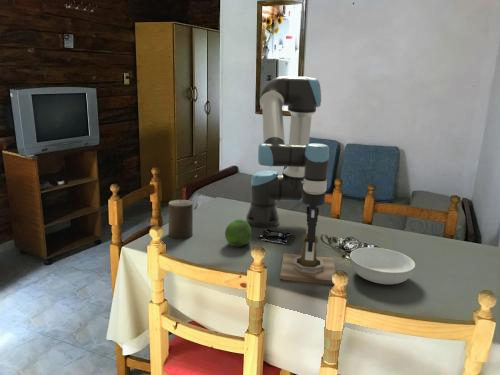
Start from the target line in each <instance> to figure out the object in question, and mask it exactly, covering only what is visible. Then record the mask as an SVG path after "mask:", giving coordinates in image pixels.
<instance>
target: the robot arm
mask: <svg viewBox="0 0 500 375" xmlns="http://www.w3.org/2000/svg"><path fill="white" fill-rule="evenodd" d="M321 88H322V87H321V83H320V81H319V79H317V78H316V77H308V76H283V75H282V76H281V75H280V76H276V77H275V78H273V79H271V80H269V81H268V82H267V83H266V84H265V85H264V87H263V88H262V90H261V92H260V94H259V105H260V107H261V108H262V134H263V135H262V136H263V137H262V138H263V143H259V144H258V149H257V150H258V151H257V152H258V153H257V161H258V162H257V163H258V164H259V165H260V166H266V167H286V168H285V169H283V171H282V174H279V172H278V171H277V170H271V169H270V170H269V169H268V170H260V171H257V172H255V173H253V174H252V176H251V182H250V186H251V187H250V205H249V207H248V210H247V213H246V216H245V221H246V222H247V223H248V224H249V225H250V226H252V227H257V228H272V227H276V226H278V225H279V224H280V214H279V212H278V208H277V201H281V202H302V203H303V204H305V205H308V206H306V222H307V223H306V231H305V235H306V234H307V239H305V242H306V252H305V260H312V261H313V258H314V247H315V235H316V230H317V225H318V224H317V223H318V216H319V213H320V210H319V209H320V208H319V207H318V206H323V205H325V203H326V192H327V184H328V182H327V181H328V171H329V170H328V169H329V160H330V147H329V145H327V144H324V143H310V137H311V136H310V135H311V126H312V116H313V115H314V114H315V113H316V111H317V108H320V107H321V103H322V90H321ZM285 106H286V107H287V111H288V112H289V113H290V124H289V136H288V137H289V138H288V144H286V142H285V128H284V116H283V107H285ZM312 238H313V239H312Z"/></svg>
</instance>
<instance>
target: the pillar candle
mask: <svg viewBox="0 0 500 375" xmlns="http://www.w3.org/2000/svg"><path fill="white" fill-rule="evenodd" d="M193 206H194V203H193V202H192V201H191V200H188V199H174V200H170V201H169V202H168V236H169V237H170V238H172V239H176V240H177V239H179V240H182V239H188V238H191V237H192V236H193V232H194V231H193V227H194V226H193V225H194V224H193V220H194V219H193V218H194V217H193V216H194V215H193V214H194V213H193V212H194V211H193V210H194V207H193Z"/></svg>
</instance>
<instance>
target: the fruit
mask: <svg viewBox="0 0 500 375" xmlns="http://www.w3.org/2000/svg"><path fill="white" fill-rule="evenodd" d="M252 232H253V231H252V228H251V225H249V224H248V223H247V222H246V220H243V219H234V220H233V221H231V222H230V223H229V224H228V225H227V226H226V228H225V231H224V234H225V235H224V236H225V241H227V243H228V245H230V246H232V247H237V248H239V247H240V248H241V247H244V246H246V245H247V243H249V241H250V240H251V239H252V235H253V234H252Z"/></svg>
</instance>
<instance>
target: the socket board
mask: <svg viewBox="0 0 500 375" xmlns="http://www.w3.org/2000/svg"><path fill="white" fill-rule="evenodd" d="M316 257H317V266H316V267H305V266H302V265H300V259H301V254H296V253H295V254H294V253H285V252H284V253H283V255H282V261H281V262H282V263H281V267H280V268H281V269H280V275H279V280H280V279H283V280H282V281H290V280H291V282H292V281H293V282H302V283H310V284H311V283H313V284H320V285H333V283H332V275H333V273H334V272H335V273H336V267H335V261H334V260H335V259H334V257H325V256H317V255H316ZM333 286H334V285H333Z"/></svg>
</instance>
